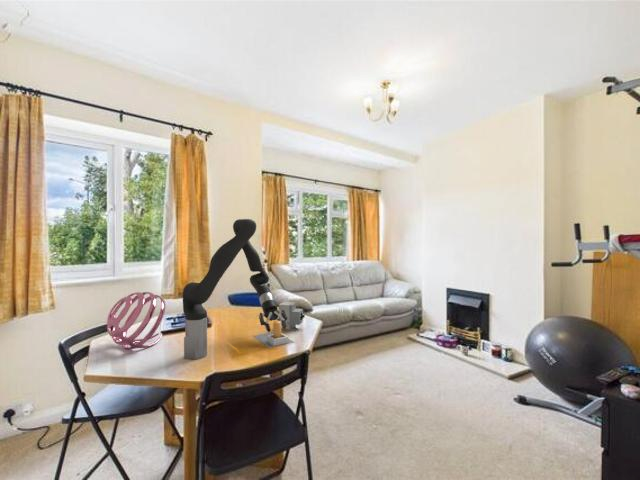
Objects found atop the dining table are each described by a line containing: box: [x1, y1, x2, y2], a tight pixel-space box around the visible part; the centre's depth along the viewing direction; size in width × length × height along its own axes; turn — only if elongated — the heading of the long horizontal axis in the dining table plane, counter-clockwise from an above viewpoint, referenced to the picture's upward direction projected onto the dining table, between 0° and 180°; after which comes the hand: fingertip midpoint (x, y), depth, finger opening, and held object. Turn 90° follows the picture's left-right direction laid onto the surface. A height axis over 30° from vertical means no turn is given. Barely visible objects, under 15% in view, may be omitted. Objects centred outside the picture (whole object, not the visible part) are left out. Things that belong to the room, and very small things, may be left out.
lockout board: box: [252, 331, 294, 349], centre depth 160 cm, size 22×14×4 cm, turn 34°
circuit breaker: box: [278, 301, 306, 330], centre depth 181 cm, size 8×14×15 cm, turn 78°
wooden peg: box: [272, 320, 282, 339], centre depth 155 cm, size 4×4×10 cm
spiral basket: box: [106, 291, 166, 350], centre depth 154 cm, size 28×28×27 cm
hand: (277, 329), depth 155 cm, fingers open, 8 cm apart
